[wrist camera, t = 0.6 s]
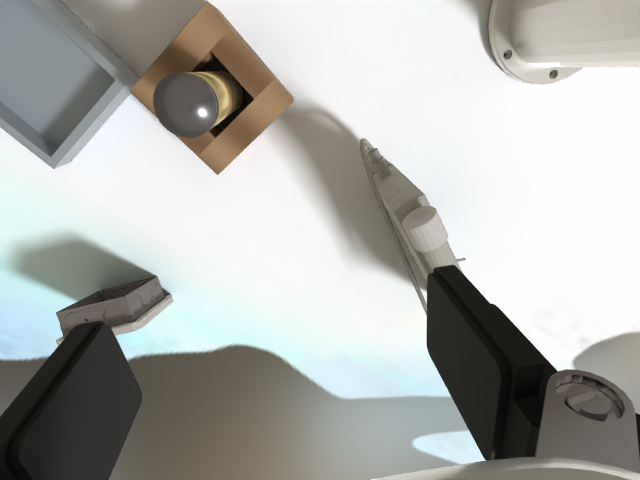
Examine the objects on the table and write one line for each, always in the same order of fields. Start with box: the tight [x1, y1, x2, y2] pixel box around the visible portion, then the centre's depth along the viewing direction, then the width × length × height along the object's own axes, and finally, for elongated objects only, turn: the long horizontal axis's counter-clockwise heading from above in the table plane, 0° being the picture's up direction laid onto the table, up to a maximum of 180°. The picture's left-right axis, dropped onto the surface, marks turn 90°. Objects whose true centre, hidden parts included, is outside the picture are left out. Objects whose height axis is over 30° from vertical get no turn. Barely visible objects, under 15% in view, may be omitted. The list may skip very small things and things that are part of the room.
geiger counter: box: [360, 139, 466, 315], centre depth 37 cm, size 14×6×25 cm
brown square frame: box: [130, 1, 293, 175], centre depth 33 cm, size 10×10×5 cm
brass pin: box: [153, 71, 243, 138], centre depth 29 cm, size 4×4×14 cm
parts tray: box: [0, 0, 140, 169], centre depth 33 cm, size 12×12×3 cm
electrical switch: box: [56, 277, 173, 345], centre depth 41 cm, size 9×5×9 cm, turn 103°
